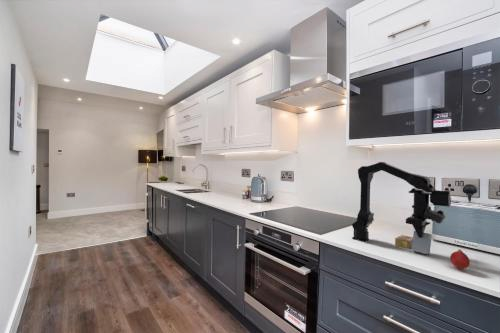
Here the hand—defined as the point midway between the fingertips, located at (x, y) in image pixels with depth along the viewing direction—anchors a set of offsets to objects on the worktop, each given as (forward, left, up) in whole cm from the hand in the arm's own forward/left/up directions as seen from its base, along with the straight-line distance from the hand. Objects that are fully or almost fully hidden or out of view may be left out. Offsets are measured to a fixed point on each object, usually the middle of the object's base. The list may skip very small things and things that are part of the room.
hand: (420, 237), depth 109 cm
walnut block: (-9, +3, -6) cm, 11 cm away
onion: (+15, -6, -8) cm, 18 cm away
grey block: (0, +1, -7) cm, 7 cm away
